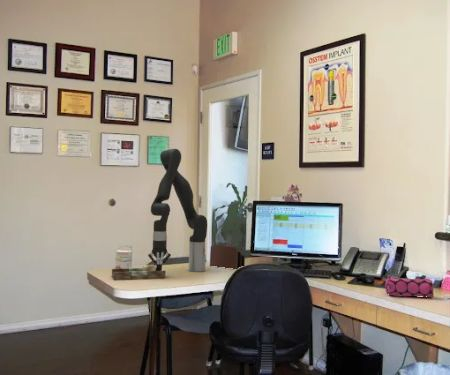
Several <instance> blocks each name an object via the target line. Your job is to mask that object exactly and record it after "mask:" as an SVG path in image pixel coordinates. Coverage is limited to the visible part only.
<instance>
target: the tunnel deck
mask: <svg viewBox="0 0 450 375" xmlns="http://www.w3.org/2000/svg"><path fill="white" fill-rule="evenodd" d="M111 277H112V279H113V280H114V281H131V280H132V281H133V280H134V281H135V280H156V279H157V280H159V279H160V280H162V279H163V280H164V279H166V270H163V269H162V270H161V271H157V269H156V271H143V267H132V268H120V269H115V268H111Z"/></svg>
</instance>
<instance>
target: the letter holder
mask: <svg viewBox="0 0 450 375" xmlns="http://www.w3.org/2000/svg"><path fill="white" fill-rule="evenodd" d="M209 255H210V256H209V267H211V266H217V267H216V268H219V267H225V268H224V269H226V268H233V269H232V270H234V269H238V268H239V267H241V266H245V264H246V263H245V260H246V258H245V257H246V256H245V255H244V254H242V252H240V251H239V249H238V248H237V247H234V246H230V245H224V244H222V245H221V244H219V245H211V246H210V254H209ZM238 270H239V269H238Z"/></svg>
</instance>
